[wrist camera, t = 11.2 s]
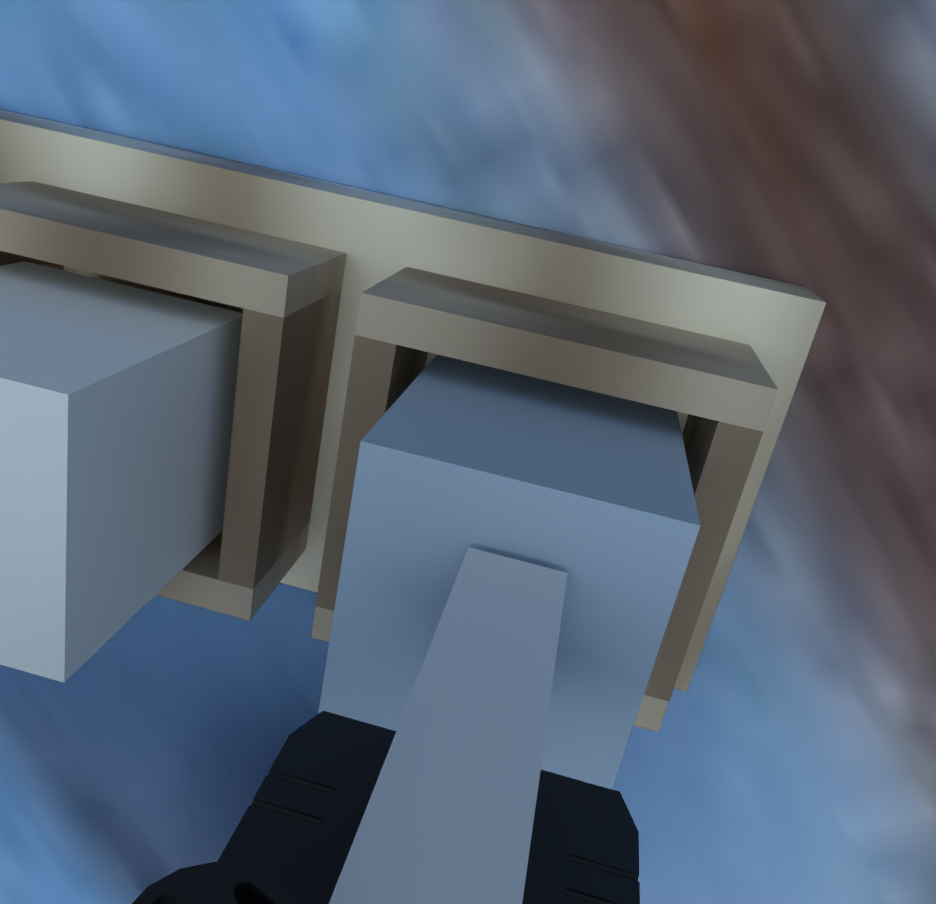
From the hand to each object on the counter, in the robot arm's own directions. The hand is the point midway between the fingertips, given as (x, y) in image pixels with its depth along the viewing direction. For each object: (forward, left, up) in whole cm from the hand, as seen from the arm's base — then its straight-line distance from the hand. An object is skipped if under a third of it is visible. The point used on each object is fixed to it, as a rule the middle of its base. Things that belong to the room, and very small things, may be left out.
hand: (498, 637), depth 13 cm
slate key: (0, 0, -6) cm, 6 cm away
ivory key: (-9, 0, -5) cm, 11 cm away
